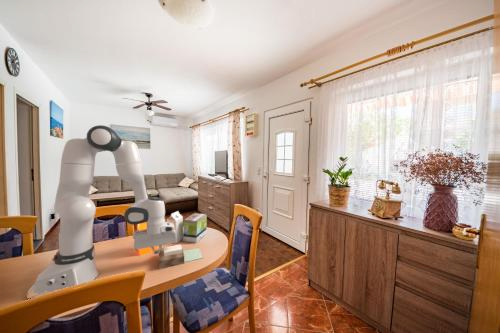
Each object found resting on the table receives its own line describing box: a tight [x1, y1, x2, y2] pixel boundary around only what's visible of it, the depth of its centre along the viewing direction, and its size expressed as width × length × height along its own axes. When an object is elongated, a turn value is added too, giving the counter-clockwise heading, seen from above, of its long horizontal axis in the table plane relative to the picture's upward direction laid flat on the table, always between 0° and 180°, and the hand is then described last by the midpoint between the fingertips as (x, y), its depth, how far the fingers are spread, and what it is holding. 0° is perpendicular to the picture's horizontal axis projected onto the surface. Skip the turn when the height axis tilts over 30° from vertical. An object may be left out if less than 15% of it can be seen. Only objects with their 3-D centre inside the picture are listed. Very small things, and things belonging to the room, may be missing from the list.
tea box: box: [182, 213, 208, 244], centre depth 130 cm, size 15×10×15 cm, turn 168°
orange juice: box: [136, 222, 158, 256], centre depth 112 cm, size 8×9×20 cm
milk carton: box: [166, 210, 184, 244], centre depth 125 cm, size 7×7×19 cm
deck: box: [158, 247, 185, 270], centre depth 103 cm, size 12×14×4 cm
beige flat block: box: [163, 243, 183, 256], centre depth 103 cm, size 9×6×2 cm, turn 116°
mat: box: [183, 247, 204, 263], centre depth 108 cm, size 10×12×1 cm
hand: (156, 253), depth 100 cm, fingers closed
